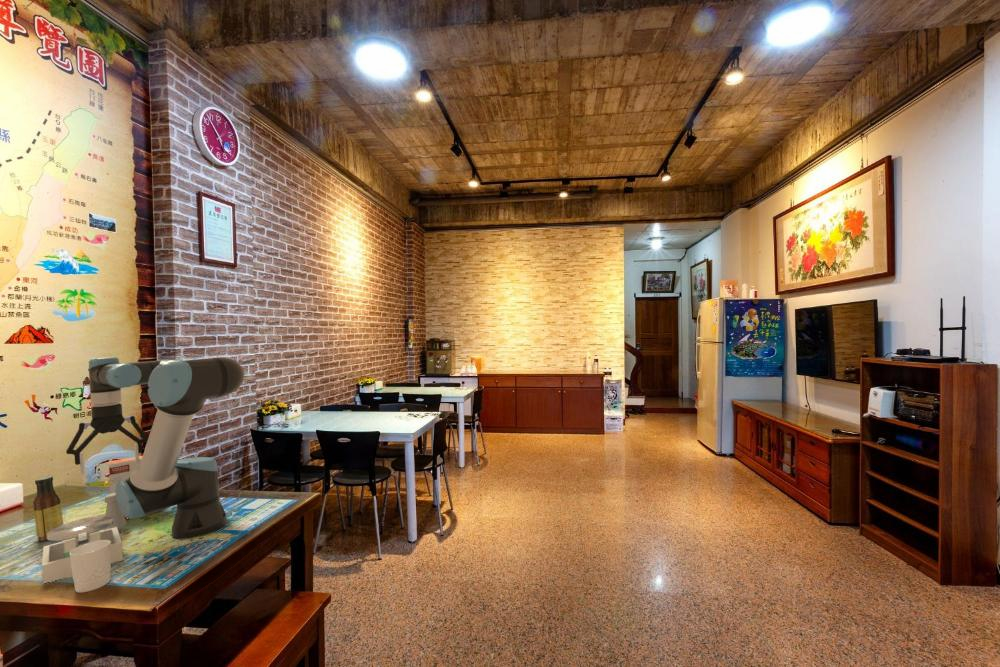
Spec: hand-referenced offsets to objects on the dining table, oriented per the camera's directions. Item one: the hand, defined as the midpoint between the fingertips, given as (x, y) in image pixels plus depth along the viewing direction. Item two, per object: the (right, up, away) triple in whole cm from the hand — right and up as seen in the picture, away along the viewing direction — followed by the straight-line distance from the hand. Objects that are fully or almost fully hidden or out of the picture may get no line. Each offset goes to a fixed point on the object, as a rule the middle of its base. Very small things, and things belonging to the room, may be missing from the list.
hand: (110, 468), depth 146 cm
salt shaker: (+1, -22, 0) cm, 22 cm away
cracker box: (-3, -22, +15) cm, 26 cm away
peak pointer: (+15, -12, -25) cm, 32 cm away
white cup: (+23, -21, -31) cm, 44 cm away
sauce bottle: (-19, -23, -1) cm, 30 cm away
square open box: (+8, -21, -18) cm, 29 cm away
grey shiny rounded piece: (+9, -17, -20) cm, 27 cm away
